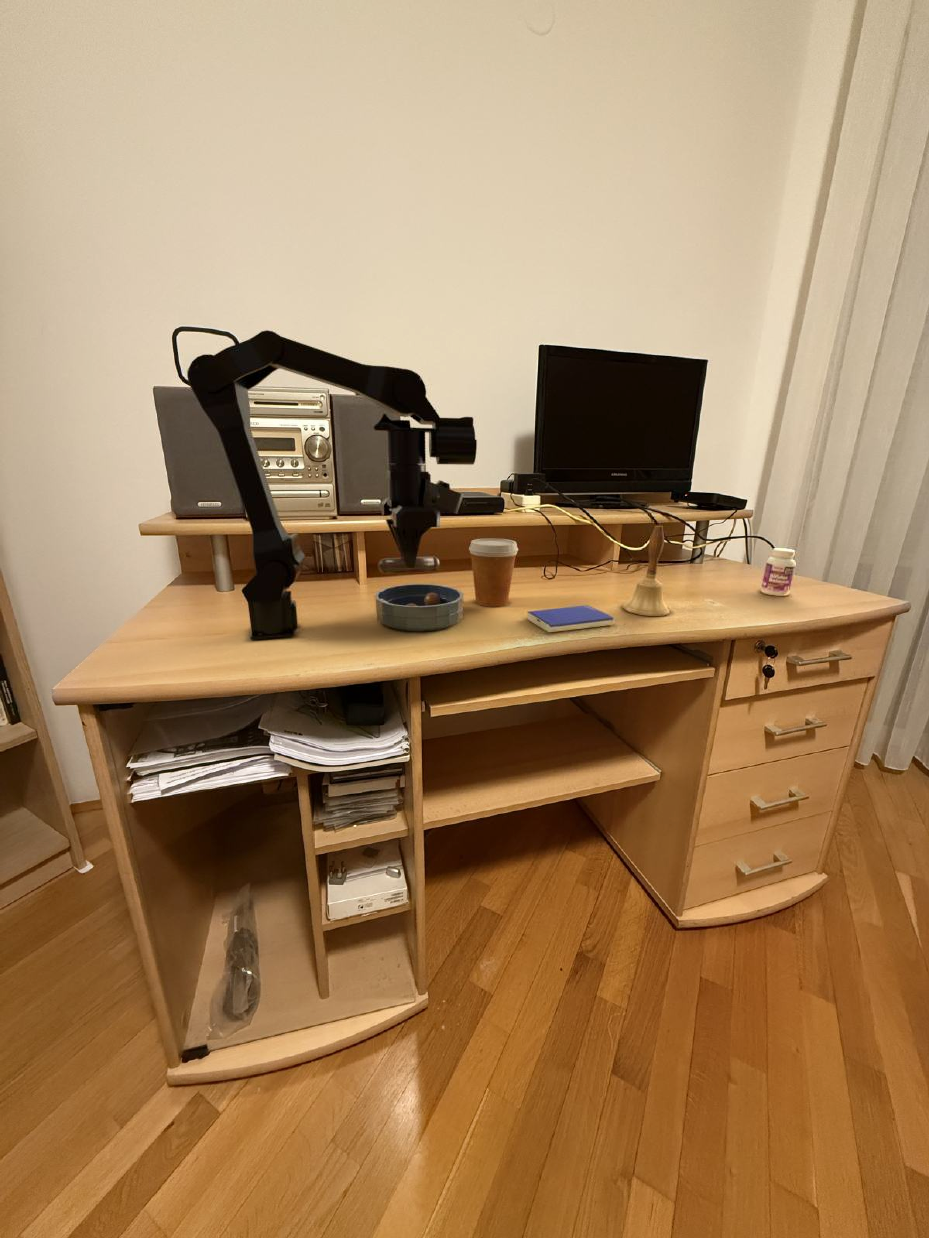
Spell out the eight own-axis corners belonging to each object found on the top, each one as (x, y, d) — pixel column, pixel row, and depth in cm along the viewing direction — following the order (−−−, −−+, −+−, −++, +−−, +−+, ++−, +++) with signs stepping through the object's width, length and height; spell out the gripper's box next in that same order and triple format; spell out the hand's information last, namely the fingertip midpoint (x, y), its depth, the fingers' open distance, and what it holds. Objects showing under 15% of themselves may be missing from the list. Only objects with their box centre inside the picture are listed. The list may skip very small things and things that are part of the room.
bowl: (382, 637, 77) (381, 610, 76) (371, 609, 91) (370, 586, 89) (474, 629, 81) (474, 603, 80) (450, 604, 95) (450, 581, 94)
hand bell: (665, 605, 96) (678, 524, 91) (672, 618, 89) (685, 529, 84) (622, 602, 98) (631, 522, 93) (624, 614, 91) (635, 527, 86)
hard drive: (586, 604, 91) (527, 610, 87) (613, 616, 84) (550, 624, 80) (585, 612, 91) (526, 618, 87) (612, 625, 84) (549, 633, 80)
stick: (379, 575, 77) (378, 560, 76) (377, 572, 79) (376, 557, 78) (441, 572, 79) (441, 557, 78) (438, 569, 81) (438, 554, 81)
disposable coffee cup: (513, 610, 92) (516, 547, 88) (463, 607, 93) (464, 544, 90) (518, 597, 100) (521, 539, 97) (472, 594, 102) (473, 537, 98)
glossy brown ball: (426, 611, 88) (425, 595, 87) (422, 607, 90) (422, 591, 89) (442, 610, 88) (442, 594, 87) (438, 605, 91) (438, 590, 90)
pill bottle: (766, 595, 105) (775, 551, 102) (756, 589, 110) (765, 546, 107) (793, 597, 104) (804, 552, 101) (782, 590, 109) (792, 548, 106)
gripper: (475, 465, 67) (473, 576, 72) (444, 464, 84) (444, 553, 89) (395, 465, 64) (398, 580, 69) (379, 463, 81) (383, 556, 86)
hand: (409, 566), depth 79 cm, fingers closed on stick, 2 cm apart
